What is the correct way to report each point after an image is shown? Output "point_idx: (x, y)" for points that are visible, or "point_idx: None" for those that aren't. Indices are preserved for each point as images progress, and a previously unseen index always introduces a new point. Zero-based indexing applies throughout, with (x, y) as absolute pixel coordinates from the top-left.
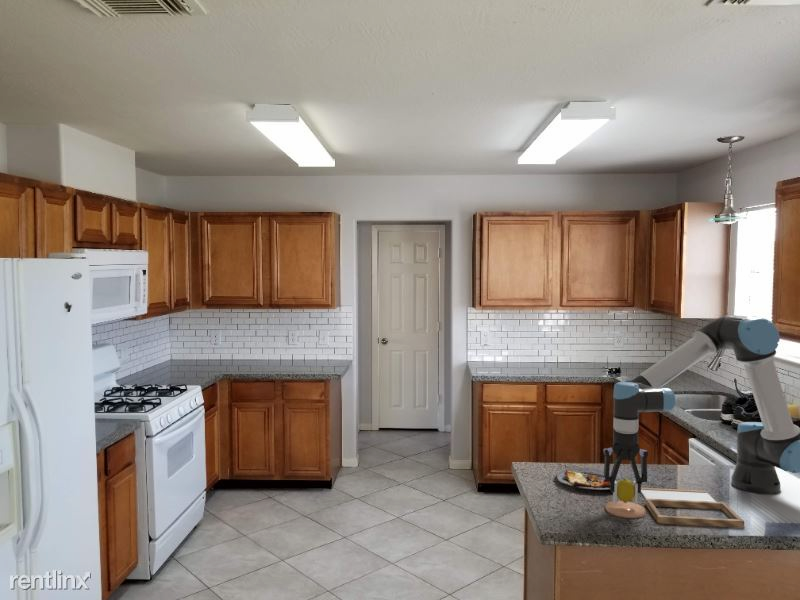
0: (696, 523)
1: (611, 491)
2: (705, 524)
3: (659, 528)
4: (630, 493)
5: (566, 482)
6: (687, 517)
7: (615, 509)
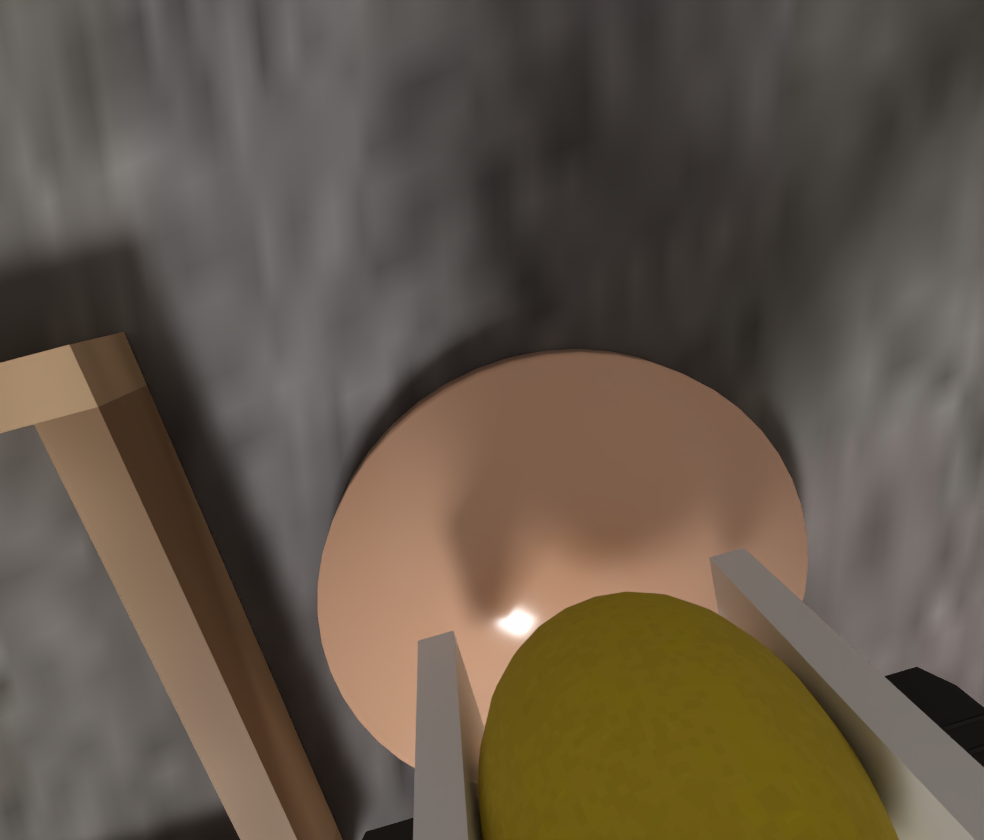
0: None
1: (920, 672)
2: None
3: (75, 126)
4: (560, 688)
5: None
6: None
7: (694, 490)
